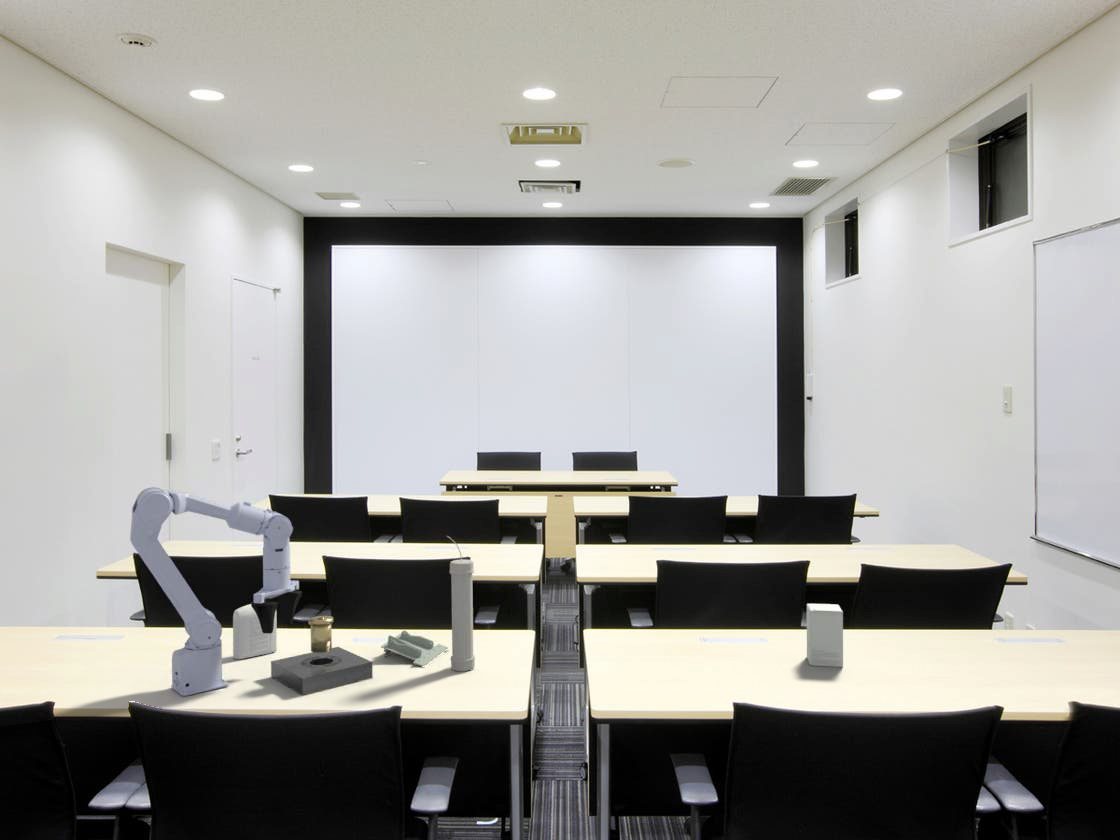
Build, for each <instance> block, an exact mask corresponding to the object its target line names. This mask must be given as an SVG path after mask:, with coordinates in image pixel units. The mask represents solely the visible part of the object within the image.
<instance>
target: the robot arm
mask: <svg viewBox="0 0 1120 840" xmlns="http://www.w3.org/2000/svg"><path fill="white" fill-rule="evenodd" d="M165 490H166V491H164V489H161V488H159V487H154V486H152V487H151V486H150V487H147V488H145V489H143V490H141V491H140V493H139V494H137V495H138V496H137V497H136V499H135V501H134V503H133V505H132V507H131V524H130V535H129V538H130V539H129V540H130V542H131V545H132V546H133V548H134V549H135V551H136V552H137V553H138V555H139V557H140V558H141V559H142V561H143V562H144V564H145V566H146V567H147V568H148V570H149V571H150V573H151V574H152V575H153V577H154V579H155V580H156V581H157V583H158V584H159V586H160V587H161V589H162V591H163V592H164V593H165V595H166V597H167V598H168V599H169V601H170V602H171V603H172V605H173V607H174V608H175V610H176V611H177V613H178V614H179V616H180V617H181V619H182V620H183V622H184V630H185V633H187V635H188V636H189V637H188V638H187V640H186V642H184V647H182V648H179V649H175V650H173V652H172V655H171V674H172V675H171V681H172V682H171V683H172V684H171V686H170V687H171V688H172V689H173V690H174V691H176V692H177V693H178V694H179V695H180V696H182V697H186V696H191V695H196V694H199V693H204V692H207V691H212V690H218V689H222V688H225V687H229V686H230V683H229V682H227V681H226V680H224V679H223V660H222V659H223V656H222V655H223V653H222V652H223V650H222V643H223V642H222V639H221V637H222V633H223V627H222V624H221V623H220V621H218V619H217V618H216V616H215V614H214V613H213V612H212V611H210V610H208V609H207V608H205V607H204V606H203V605H202V603H201V602H200V600H199V599H198V597H197V596H196V594H195V593H194V591H193V590H192V588H191V587H190V585H189V584H188V583H187V581H186V579H185V578H184V577H183V575H182V573H181V572H180V571H179V569H178V567H177V566H176V565H175V563H174V562H173V560H172V558H171V557H170V556H169V554H168V553H167V551H166V550H165V549H164V547H163V545H162V543H161V542H160V540H159V538H158V537H159V534H160V533H161V529H162V526H163V524H164V523H165V522H166V520H167V519H168V518H169V517H170V515H171V513H172V514H174V515H175V516H177V515H180V514H181V515H182V514H185V513H186V512H190V513H194V514H198V515H203V516H206V517H211V518H215V519H219V520H223V521H225V522H226V524H227V526H228V527H229V528H230V529H232V530H237V531H239V532H240V531H241V532H244V533H247V534H251V535H255V536H261V535H262V536H263V546H262V572H263V573H262V575H263V576H262V580H263V582H262V585H263V587H261V589H260V590H259V591H257V592H256V593H254V594H253V601H250V604H251V606H252V608H253V609H254V611H255V612H256V614H257V616H258V619H259V622H260V625H261V629H262V632H263V633H269V634H271V633H272V632H273V628H274V616H275V611H276V612H277V608H278V605H279V608H280V617H281V622H282V625H293V621H294V617H295V612H296V609H297V606H298V603H299V601H300V599H301V597H302V595H303V594H302V593H303V591H301V590H300V581H299V580H291V546H290V537H291V535H292V533H293V530H294V526H292V521H291V520H290V519H289V517H287V516H285V515H283V514H281V513H279V512H277V511H273V510H272V509H271V508H267V509H264V508H259V507H256V506H254V505H253V506H252V503H251V502H249V501H247V500H246V501H244V502H243V503H242V502H236V503H234V504H233V505H227V504H224V503H220V502H216V501H214V500H211V499H207V498H204V497H201V496H198V495H196V494H195V495H194V494H191V493H188V492H183V491H179V490H178V491H177V490H173V489H172V490H171V489H165ZM273 598H277V601H278V602H277V601H275V602H274V601H272V600H271V599H273Z"/></svg>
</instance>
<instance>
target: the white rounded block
mask: <svg viewBox="0 0 1120 840" xmlns="http://www.w3.org/2000/svg"><path fill="white" fill-rule="evenodd" d="M277 624H278V623H277V610H276V611H275V616H274V628H273V632H272V633H271V634H269V633H263V632H262V629H261V625H260V622H259V619H258V616H257V614H256V612H255V611H254V609H253V608H252V606H251V603H250V604H246V605H244V606H241V607H239V608H237V609H235V610H234V612H233V615H232V646H233V647H232V655H233V659H235V660H243V659H248V658H251V657H257V656H261V655H266V654H267V655H268V654H272V652H273V653H276V652H277V650H278V649H277V648H278V647H277V646H278V645H277V637H278V636H277V634H278V633H277V629H278V628H277Z"/></svg>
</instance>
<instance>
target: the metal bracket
mask: <svg viewBox="0 0 1120 840" xmlns="http://www.w3.org/2000/svg"><path fill="white" fill-rule="evenodd" d="M380 648H382V649H384V650H383V652H385V653H384V657H385V656H386V655H387V656H389V655H390V654H392V653H394V654H397V655H399V656H403V657H405V658H408V659H411V660H412V662H413V665H416V666H418V667H421V666H425V665H427V664H428V663H429V662H430V661H432V660H433V659H434V658H436V657H437V656H438V655H440V654H441V653H442V652H444V651H445V650H446V649H448V648H449V647H448V646H446V645H443V644H441V643H437V644H435V642H434V640H432V639H429V638H426V637H423V636H421V635H413V634H412V635H411V634H410V633H409V632H408V631H406V630H403V631H401V633H399V634H398V635H396V636H392V635H389V634H388V640H387V641H386V642H385V643H384V644H382V645H380ZM391 652H392V653H391ZM388 654H389V655H388ZM442 654H443V653H442ZM442 654H441V655H442ZM441 655H440V656H441ZM387 656H386V657H387ZM438 657H439V656H438ZM438 657H437V658H438ZM437 658H436V659H437ZM433 661H434V660H433ZM433 661H432V662H433Z"/></svg>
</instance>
